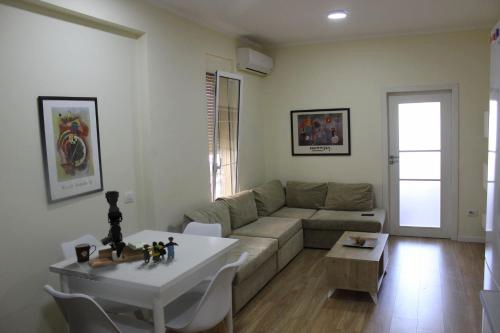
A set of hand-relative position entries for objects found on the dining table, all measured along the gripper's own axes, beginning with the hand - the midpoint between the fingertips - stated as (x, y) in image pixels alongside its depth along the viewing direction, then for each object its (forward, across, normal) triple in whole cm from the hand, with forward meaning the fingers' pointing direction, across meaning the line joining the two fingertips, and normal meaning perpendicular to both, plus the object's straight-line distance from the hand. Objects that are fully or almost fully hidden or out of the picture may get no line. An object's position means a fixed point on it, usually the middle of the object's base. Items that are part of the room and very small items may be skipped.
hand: (117, 256), depth 250 cm
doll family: (+3, +16, +21) cm, 26 cm away
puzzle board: (+3, 0, +2) cm, 3 cm away
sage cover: (-4, 0, +14) cm, 15 cm away
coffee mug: (+3, -13, -15) cm, 20 cm away
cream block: (+2, 0, 0) cm, 2 cm away
